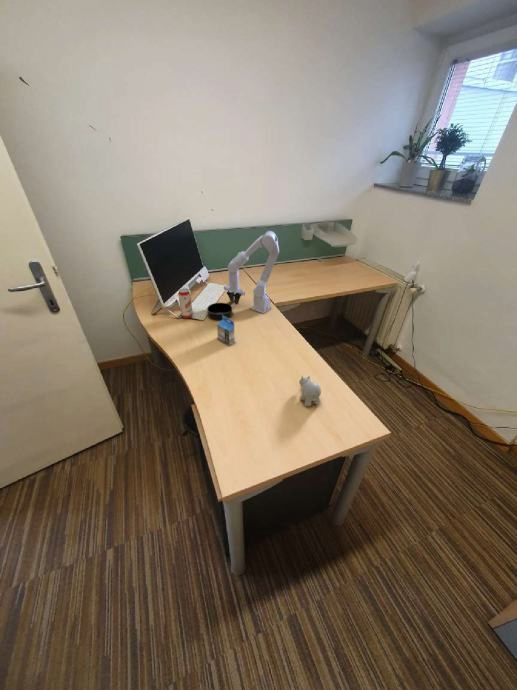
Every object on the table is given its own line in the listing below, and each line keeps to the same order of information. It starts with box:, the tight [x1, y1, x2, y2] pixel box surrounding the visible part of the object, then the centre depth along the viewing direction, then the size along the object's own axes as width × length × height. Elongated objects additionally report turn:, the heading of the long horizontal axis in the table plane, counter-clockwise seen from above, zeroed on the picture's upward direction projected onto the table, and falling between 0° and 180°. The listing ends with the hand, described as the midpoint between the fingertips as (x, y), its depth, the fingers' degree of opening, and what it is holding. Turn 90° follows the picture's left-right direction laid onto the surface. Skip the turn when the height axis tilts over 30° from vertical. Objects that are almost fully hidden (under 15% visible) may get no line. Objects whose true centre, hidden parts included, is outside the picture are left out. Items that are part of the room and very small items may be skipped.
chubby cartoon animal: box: [298, 375, 322, 408], centre depth 105 cm, size 7×12×8 cm, turn 16°
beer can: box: [177, 288, 194, 320], centre depth 150 cm, size 6×6×16 cm
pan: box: [206, 298, 235, 322], centre depth 160 cm, size 14×24×4 cm, turn 145°
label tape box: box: [216, 315, 235, 346], centre depth 133 cm, size 9×4×12 cm, turn 47°
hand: (234, 303), depth 166 cm, fingers open, 3 cm apart
